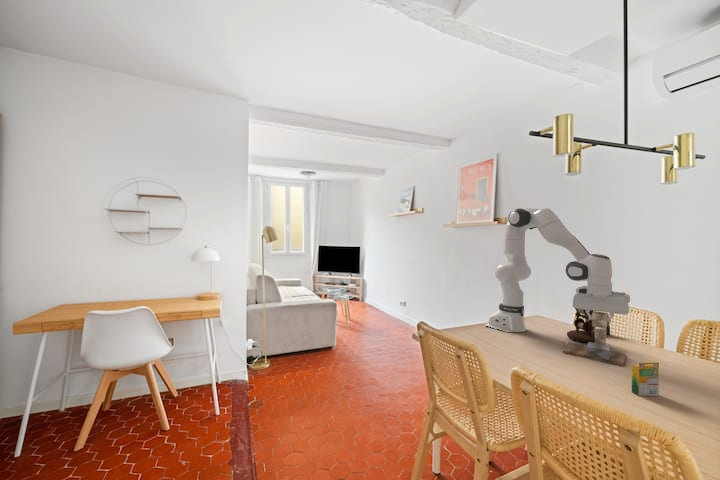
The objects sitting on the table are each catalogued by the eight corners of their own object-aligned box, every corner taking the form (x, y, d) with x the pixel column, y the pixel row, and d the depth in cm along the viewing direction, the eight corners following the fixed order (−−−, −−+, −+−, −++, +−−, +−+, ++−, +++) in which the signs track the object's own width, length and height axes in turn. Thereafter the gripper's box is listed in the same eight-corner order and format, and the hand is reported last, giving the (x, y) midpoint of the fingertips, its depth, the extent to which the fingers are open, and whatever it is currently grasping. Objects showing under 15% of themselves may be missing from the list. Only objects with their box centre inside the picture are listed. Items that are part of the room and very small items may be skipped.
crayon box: (650, 391, 111) (651, 359, 110) (659, 396, 108) (659, 362, 107) (630, 392, 110) (631, 359, 110) (638, 396, 107) (639, 362, 107)
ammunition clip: (588, 333, 176) (588, 312, 176) (586, 332, 178) (587, 311, 178) (610, 335, 174) (610, 313, 173) (608, 334, 175) (608, 313, 175)
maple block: (592, 326, 141) (592, 313, 141) (593, 324, 144) (593, 311, 144) (606, 328, 137) (606, 314, 137) (607, 326, 141) (607, 312, 141)
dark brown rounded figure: (608, 345, 158) (609, 305, 158) (578, 344, 158) (579, 305, 158) (587, 335, 173) (588, 299, 172) (560, 335, 173) (561, 299, 173)
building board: (563, 352, 147) (563, 329, 147) (568, 344, 159) (568, 322, 159) (624, 365, 133) (624, 339, 132) (625, 355, 145) (625, 331, 144)
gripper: (630, 292, 136) (630, 323, 136) (573, 287, 150) (573, 316, 150) (630, 294, 132) (630, 326, 132) (571, 289, 145) (571, 318, 145)
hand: (599, 321), depth 141 cm, fingers closed on maple block, 5 cm apart
